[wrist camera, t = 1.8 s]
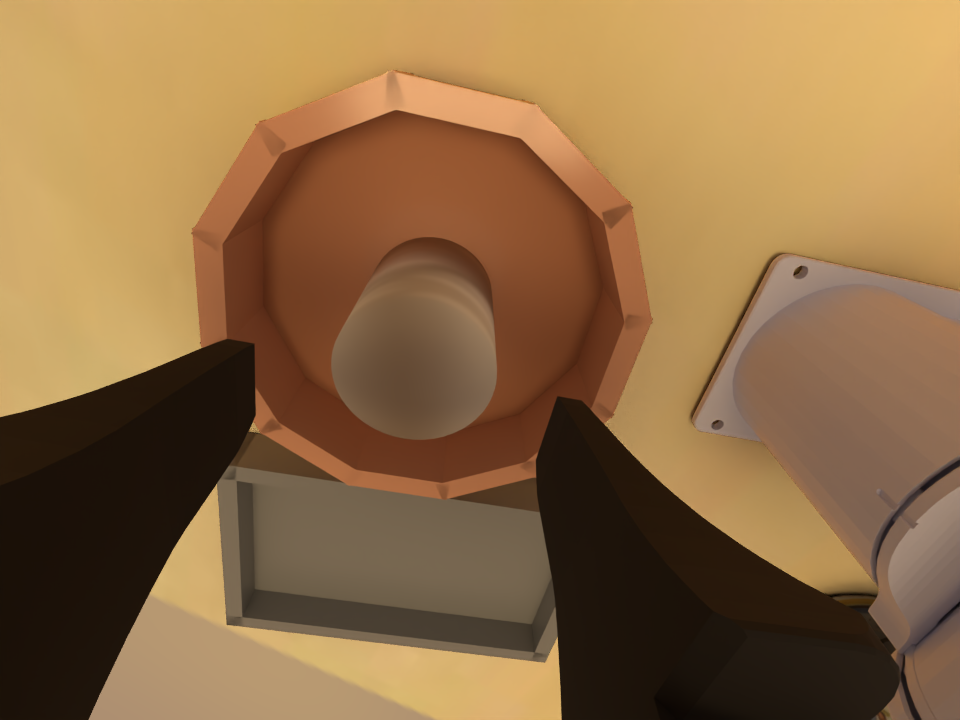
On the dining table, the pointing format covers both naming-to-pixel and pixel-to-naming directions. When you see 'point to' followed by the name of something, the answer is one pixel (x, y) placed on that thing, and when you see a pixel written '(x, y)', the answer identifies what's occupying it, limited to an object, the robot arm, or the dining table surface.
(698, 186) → the dining table surface
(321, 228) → the orange shallow faceted dish
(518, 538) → the charcoal tray
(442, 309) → the taupe rounded cylinder
